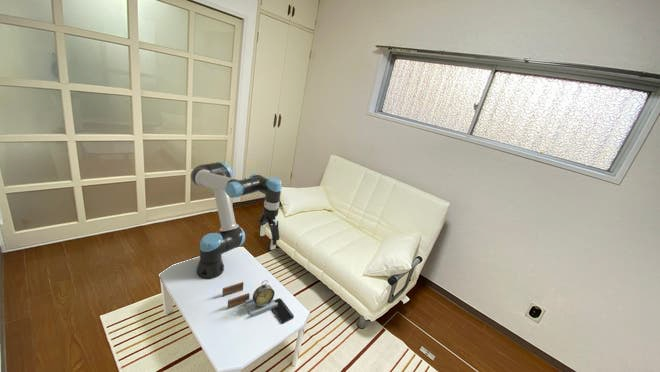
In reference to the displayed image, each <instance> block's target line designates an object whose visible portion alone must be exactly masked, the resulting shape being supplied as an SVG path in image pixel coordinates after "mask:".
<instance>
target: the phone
mask: <svg viewBox="0 0 660 372" xmlns="http://www.w3.org/2000/svg"><path fill="white" fill-rule="evenodd" d="M273 300H274V301H275V303H278V306H277V307H275V308H272V309H271V310H270V311H272V312H273V314H274V316H275V317H276V318H277V320H278V321H279V322H280V324H285V323H287V322H290V321H291V320H293V319H294V316H295V315H294V314H293V312H292V311H291V310H290V309H289V307H288V305H286V302H284V301H283V300H282V298H281V297H279V298H278V297H277V299H276V298H275V299H273ZM272 302H273V301H272Z"/></svg>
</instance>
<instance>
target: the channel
mask: <svg viewBox="0 0 660 372" xmlns="http://www.w3.org/2000/svg"><path fill="white" fill-rule="evenodd" d="M242 291H244V281H242V282H238V283H235V284H231V285H228V286H225V287H222V292H221V293H222V297H226V296H229V295H233V294H236V293H239V292H242ZM250 295H251V294H250V293H248V292H247V293H245V294H242V295H239V296H236V297H233V298H229V299H227V309H228V310H230V309H232V308H236V307H237V306H241V305H243V304H244V305H245V301H246V300H249V299H250Z"/></svg>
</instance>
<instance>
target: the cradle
mask: <svg viewBox="0 0 660 372" xmlns="http://www.w3.org/2000/svg"><path fill="white" fill-rule="evenodd" d="M274 300H275V299H274V298H273V299H272V301H273V302H272V301H271V303H268V304H267V305H265V306H261V307H260V306H257V307H256V304H255V302H254V300H253V297H252V298H249V300H246V301H245V303H244V306H245V307H246V310H248V313H249V315H250V316H251V318H254V317H257V316H258V315H261V314H264V313H267V312H268V311H272V310H271V309H272V308H275V307H277V306H278V303H275V301H274ZM255 307H256V308H255Z"/></svg>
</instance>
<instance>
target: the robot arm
mask: <svg viewBox="0 0 660 372" xmlns="http://www.w3.org/2000/svg"><path fill="white" fill-rule="evenodd" d="M190 180H191V182H192V183H193V184H195V185H197V186H199V187H203V188H204V187H207V188H211V189H213V194H214V198H215V203H216V208H217V212H218V217H219V222H220V226H221V227H220V228H219V232H209V233H207V234H205V235H203V236H202V238H201V239H200V241H199V262H198V264H197V266H196V274H197V276H198V277H199V278H201V279H204V280H209V279H215V278H218V277H219V276H220V277H221V275H222V274H223V272H224V270H225V265H224V262H223V260H222V259H223V258H222V254H224V253H227V252H229V251H232V250H234V249H238V248H239V247H241V246H242V245H243V244H244V242H245V241H246V233H245V231H244V229H243V228H242V227H241V226H240V225H239V224H238V223H236V218H235V212H234V208H233V204H232V198H233V199H234V198H239V197H241V196H246V195H249V194H250V195H251V194H253V193H257V192H260V193H262V194H264V202H263V205H264V206H263V210H262V213H261V216H260V218H259V221H258V223H260V228H259V229H260V231H259V236H260V237H263V236H265V235H266V230H267V229H266V228H267V224H268V227H269V228H270V234H271V240H270V251H271V250H276V247H277V241H279V240H280V229H279V220H276V217H277V216H278V214H279V209H280V203H281V201H280V199H281V194H282V193H281V192H282V190H283V189H282V180H281V179H280V178H277V177H268V178H267V177H265V176H263V175H261V174H257V173H253V174H251V175H250V176H249V178H245V179H235V178H233V170H232V168H231V166H230V165H229V164H228V163H227V162H224V161H223V162H218V161H217V162H212V163H205V164H204V163H203V164H200V165H197V166H195V167H194V168H193V169H192V170H191V172H190Z"/></svg>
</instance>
